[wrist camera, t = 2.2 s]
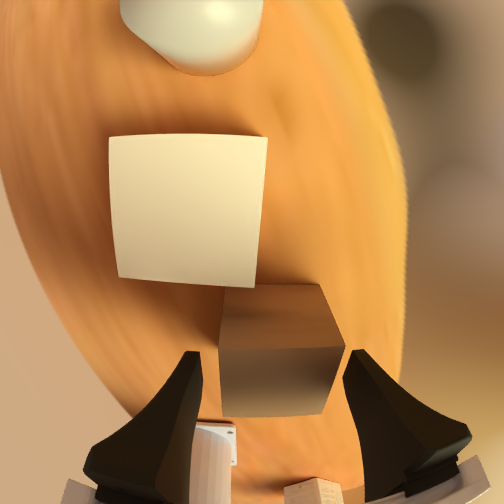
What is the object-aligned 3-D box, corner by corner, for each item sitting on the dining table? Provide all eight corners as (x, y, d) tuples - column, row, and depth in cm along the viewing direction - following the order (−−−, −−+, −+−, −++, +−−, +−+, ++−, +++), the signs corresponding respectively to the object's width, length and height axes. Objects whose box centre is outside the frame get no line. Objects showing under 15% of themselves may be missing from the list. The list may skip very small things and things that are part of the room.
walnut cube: (306, 351, 17) (321, 413, 12) (227, 351, 17) (222, 416, 12) (319, 283, 15) (345, 345, 10) (225, 282, 15) (217, 347, 10)
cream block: (252, 257, 14) (254, 287, 12) (140, 250, 14) (118, 277, 11) (263, 136, 12) (267, 137, 9) (137, 135, 12) (109, 137, 9)
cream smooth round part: (257, 76, 11) (264, 41, 6) (158, 80, 10) (111, 54, 6) (260, -2, 9) (267, -60, 4) (166, 2, 9) (131, -46, 4)
